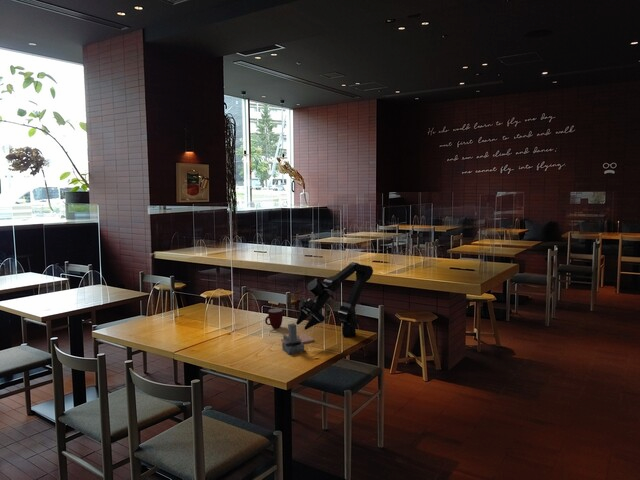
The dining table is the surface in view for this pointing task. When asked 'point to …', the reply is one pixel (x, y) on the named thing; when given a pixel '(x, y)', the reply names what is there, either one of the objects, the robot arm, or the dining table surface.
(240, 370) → the dining table surface
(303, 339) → the plate
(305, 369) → the dining table surface
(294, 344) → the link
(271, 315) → the mug
